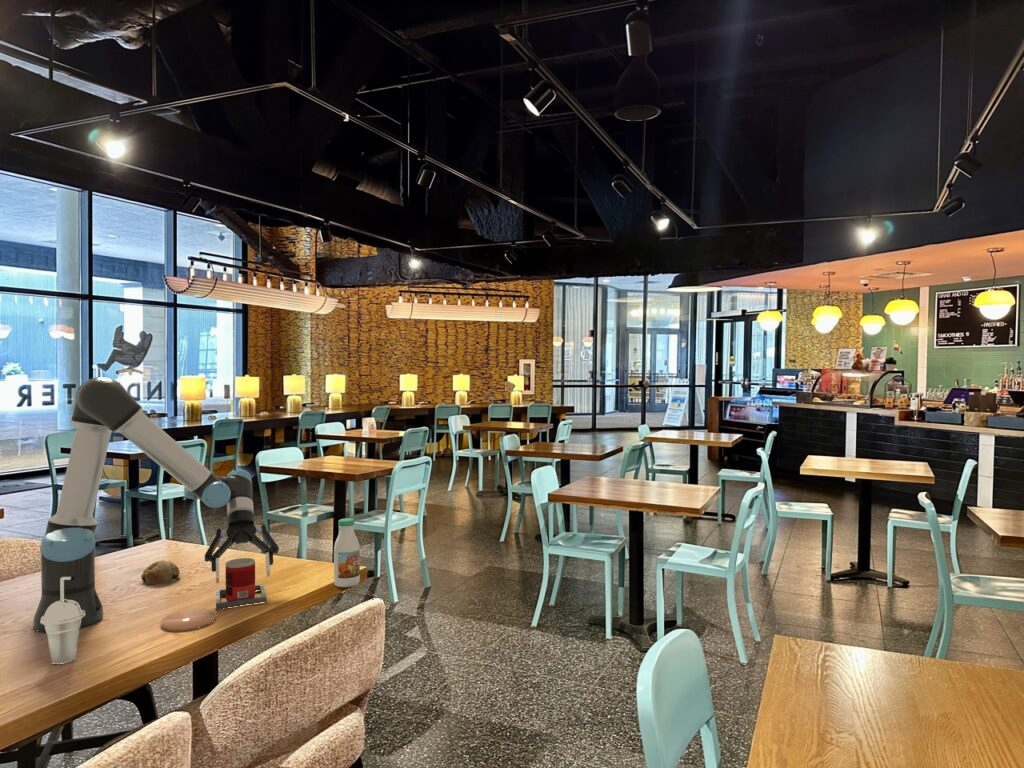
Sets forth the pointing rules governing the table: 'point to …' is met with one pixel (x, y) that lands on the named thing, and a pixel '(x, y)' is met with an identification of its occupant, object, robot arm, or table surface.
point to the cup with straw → (63, 626)
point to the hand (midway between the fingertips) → (243, 577)
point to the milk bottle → (346, 555)
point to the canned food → (240, 579)
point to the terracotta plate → (187, 620)
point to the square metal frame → (242, 601)
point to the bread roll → (160, 573)
